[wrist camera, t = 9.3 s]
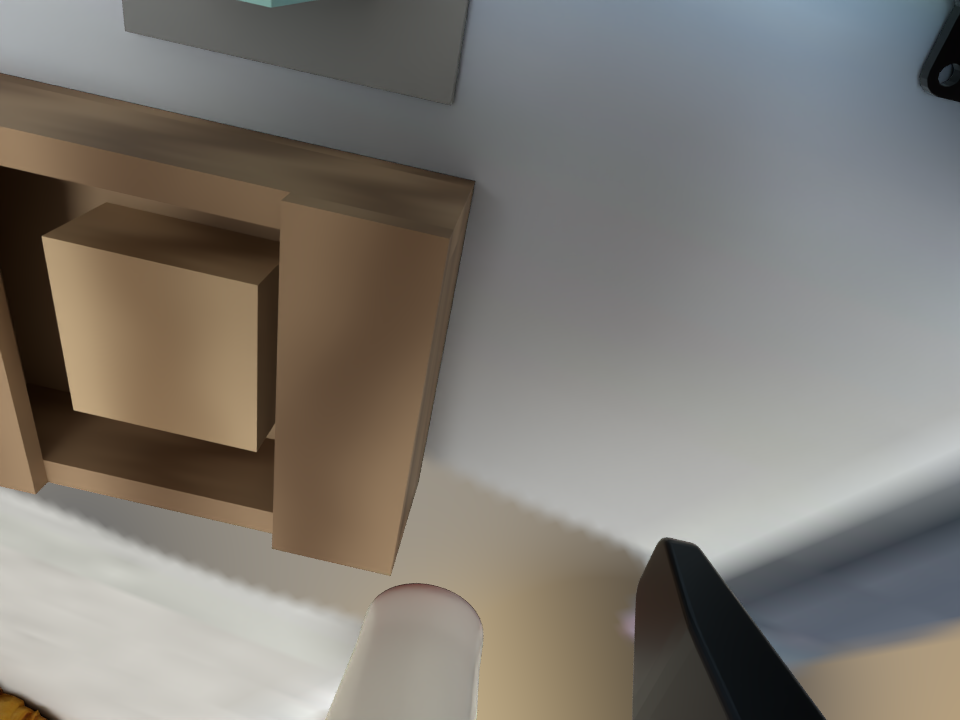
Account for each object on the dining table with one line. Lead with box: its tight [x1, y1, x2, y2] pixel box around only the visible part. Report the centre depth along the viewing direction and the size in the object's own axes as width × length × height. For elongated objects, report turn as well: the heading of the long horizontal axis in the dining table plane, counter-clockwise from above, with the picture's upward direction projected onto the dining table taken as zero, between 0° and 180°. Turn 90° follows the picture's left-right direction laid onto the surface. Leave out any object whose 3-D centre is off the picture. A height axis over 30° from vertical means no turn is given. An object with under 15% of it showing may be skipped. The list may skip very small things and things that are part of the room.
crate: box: [0, 73, 475, 576], centre depth 20 cm, size 16×12×5 cm
